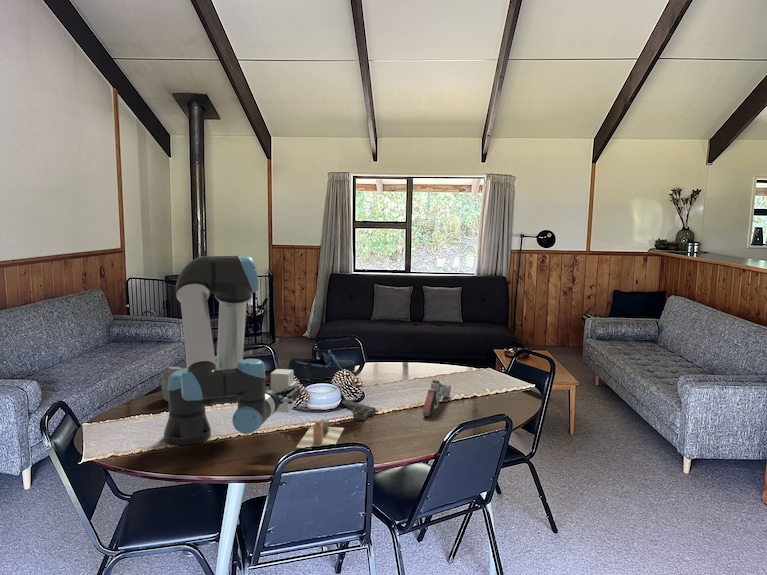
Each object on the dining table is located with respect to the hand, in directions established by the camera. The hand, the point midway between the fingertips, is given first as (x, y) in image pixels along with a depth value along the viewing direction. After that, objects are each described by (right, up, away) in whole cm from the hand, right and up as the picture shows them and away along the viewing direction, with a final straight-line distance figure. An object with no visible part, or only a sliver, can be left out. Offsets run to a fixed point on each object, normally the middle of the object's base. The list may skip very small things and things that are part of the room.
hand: (287, 384), depth 193 cm
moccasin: (+3, -11, +84) cm, 85 cm away
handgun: (+21, -17, +32) cm, 42 cm away
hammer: (-41, -13, +53) cm, 68 cm away
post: (+11, -19, -3) cm, 22 cm away
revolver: (+54, -16, +41) cm, 70 cm away
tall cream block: (-1, -8, -4) cm, 9 cm away
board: (+11, -19, +2) cm, 22 cm away
